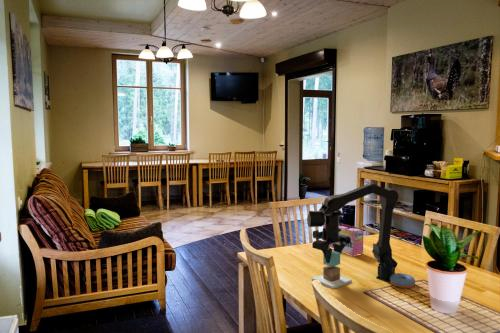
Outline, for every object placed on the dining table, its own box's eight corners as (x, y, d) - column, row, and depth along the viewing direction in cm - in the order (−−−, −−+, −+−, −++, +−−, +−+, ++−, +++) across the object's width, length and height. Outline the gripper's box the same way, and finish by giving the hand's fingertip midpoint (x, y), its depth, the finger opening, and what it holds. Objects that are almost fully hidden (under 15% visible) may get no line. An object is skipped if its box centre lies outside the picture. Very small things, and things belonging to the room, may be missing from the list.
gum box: (321, 246, 226) (321, 222, 225) (331, 243, 230) (331, 220, 229) (353, 256, 206) (353, 231, 205) (363, 254, 210) (364, 229, 209)
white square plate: (351, 281, 171) (351, 279, 171) (333, 288, 164) (333, 286, 164) (330, 274, 181) (330, 271, 181) (311, 280, 174) (311, 278, 173)
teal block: (340, 264, 171) (340, 252, 171) (332, 266, 168) (332, 255, 168) (331, 261, 175) (331, 250, 175) (323, 263, 172) (323, 252, 172)
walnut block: (340, 279, 172) (340, 267, 172) (332, 281, 169) (332, 270, 168) (331, 275, 176) (331, 264, 175) (323, 278, 173) (323, 267, 172)
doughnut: (392, 288, 163) (393, 277, 163) (387, 280, 173) (388, 270, 173) (417, 291, 162) (418, 280, 162) (410, 283, 172) (411, 273, 172)
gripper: (332, 219, 182) (331, 253, 184) (303, 226, 171) (303, 261, 172) (351, 224, 174) (351, 259, 175) (322, 230, 162) (322, 268, 164)
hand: (331, 261), depth 172 cm, fingers closed on teal block, 5 cm apart
